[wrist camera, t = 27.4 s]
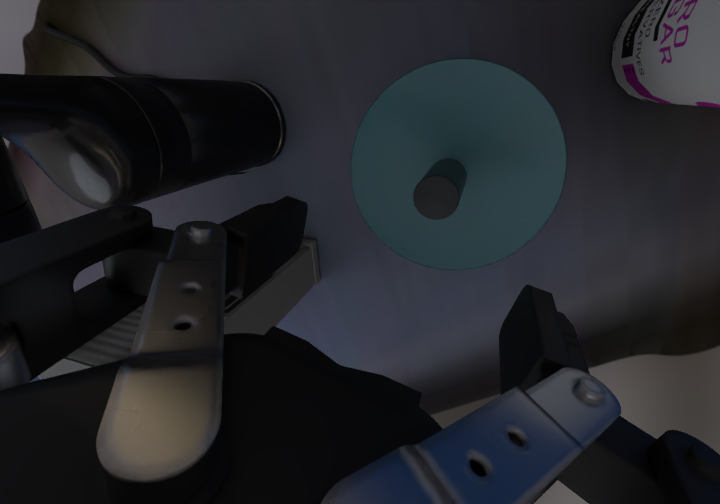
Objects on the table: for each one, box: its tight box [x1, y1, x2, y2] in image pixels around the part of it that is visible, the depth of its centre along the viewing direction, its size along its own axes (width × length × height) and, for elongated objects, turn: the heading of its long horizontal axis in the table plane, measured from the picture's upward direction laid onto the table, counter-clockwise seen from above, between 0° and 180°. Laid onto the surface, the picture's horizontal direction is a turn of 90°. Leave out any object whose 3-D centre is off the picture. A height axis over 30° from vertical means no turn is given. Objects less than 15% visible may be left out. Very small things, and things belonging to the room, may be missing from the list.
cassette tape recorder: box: [41, 239, 320, 379], centre depth 37 cm, size 14×6×25 cm, turn 93°
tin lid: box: [351, 58, 567, 270], centre depth 22 cm, size 15×15×7 cm
